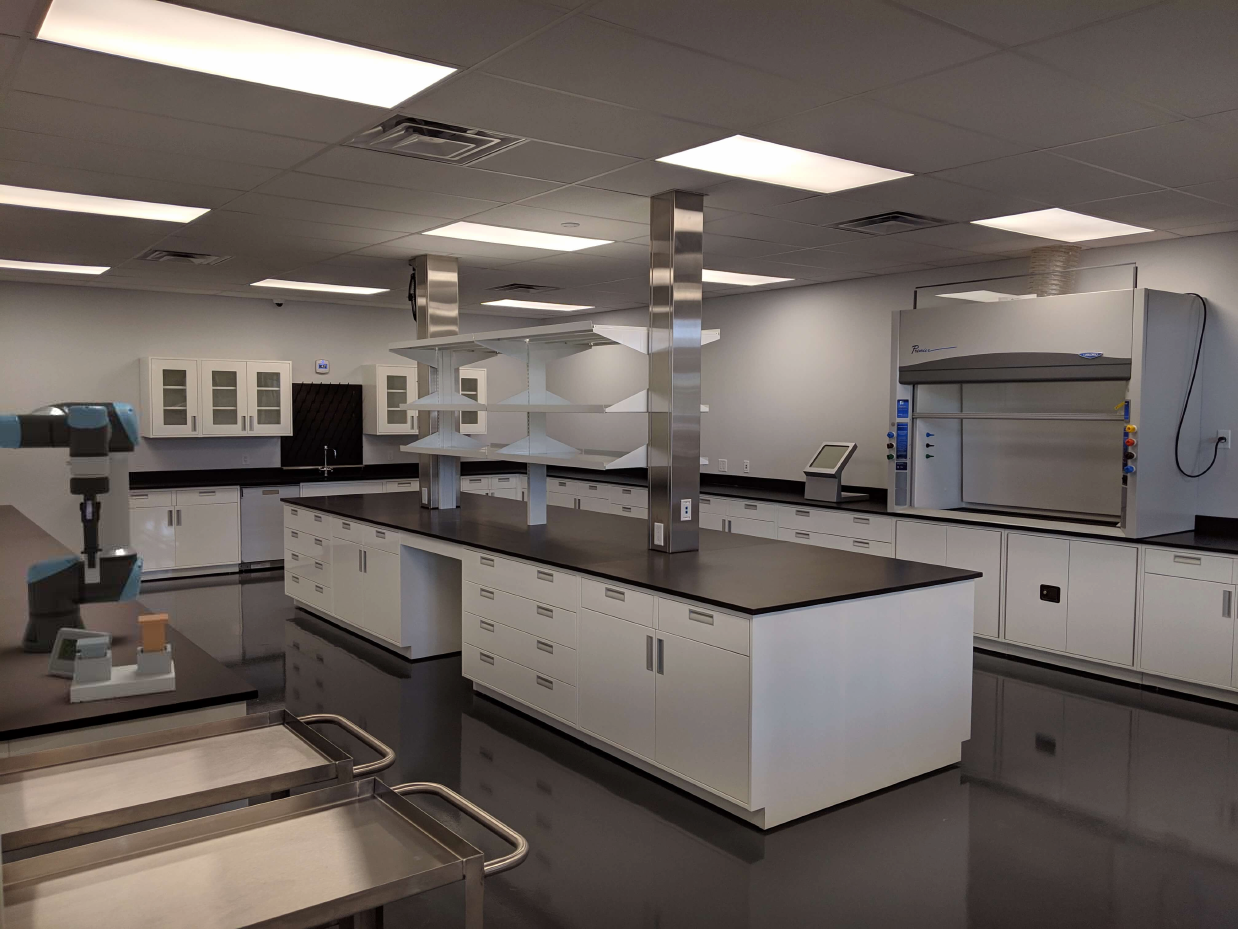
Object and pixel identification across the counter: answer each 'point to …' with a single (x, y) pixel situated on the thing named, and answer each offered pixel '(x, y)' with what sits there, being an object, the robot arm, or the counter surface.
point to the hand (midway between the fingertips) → (92, 582)
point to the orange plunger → (153, 632)
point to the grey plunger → (92, 647)
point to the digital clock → (70, 650)
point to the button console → (122, 676)
